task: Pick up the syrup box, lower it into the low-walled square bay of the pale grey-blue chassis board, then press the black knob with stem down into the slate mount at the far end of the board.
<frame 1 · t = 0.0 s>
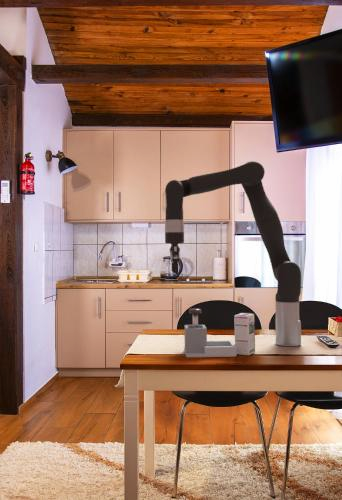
hand: (174, 272, 188), 29 cm above the table, fingers open, 8 cm apart
syrup box: (244, 353, 175), on the table
black knob with stem: (195, 320, 175), point 12 cm above the table, slide at 0.0 cm
chassis: (209, 353, 175), on the table
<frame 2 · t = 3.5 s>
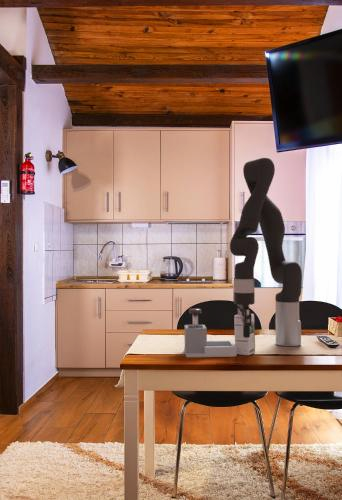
hand: (244, 335, 175), 7 cm above the table, fingers closed on syrup box, 7 cm apart
syrup box: (244, 353, 175), on the table, touching gripper
everything else where it was.
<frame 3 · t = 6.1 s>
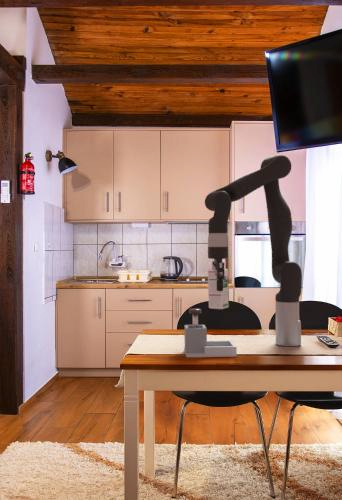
hand: (218, 289, 175), 23 cm above the table, fingers closed on syrup box, 7 cm apart
syrup box: (218, 308, 175), point 17 cm above the table, touching gripper
everything else where it was.
when the fingers open (9 cm above the table, at t = 8.6 s): syrup box drops 1 cm, resting on chassis.
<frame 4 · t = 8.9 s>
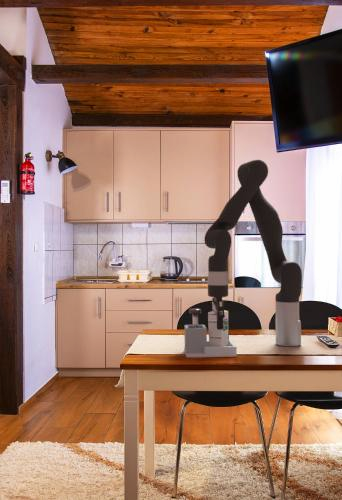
hand: (218, 327, 175), 10 cm above the table, fingers open, 8 cm apart
syrup box: (218, 350, 175), point 1 cm above the table, touching chassis
everything else where it was.
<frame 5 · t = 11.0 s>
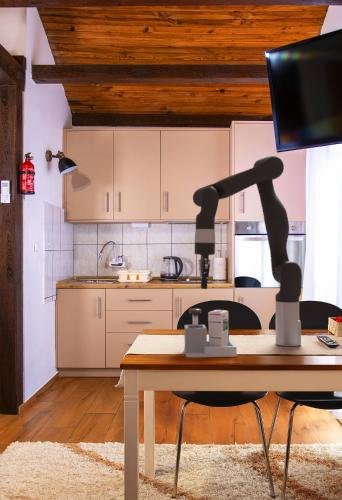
hand: (204, 288, 175), 24 cm above the table, fingers closed
nothing on the table moved.
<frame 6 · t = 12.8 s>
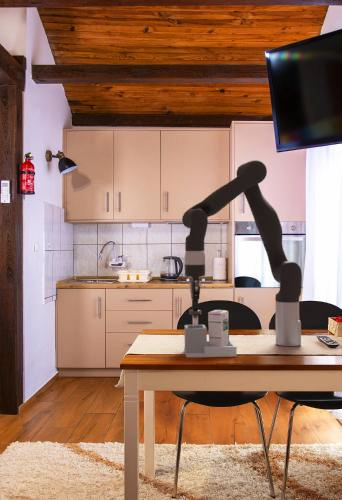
hand: (195, 310, 175), 16 cm above the table, fingers closed
black knob with stem: (195, 321, 175), point 12 cm above the table, slide at 0.4 cm, touching gripper
everything else where it was.
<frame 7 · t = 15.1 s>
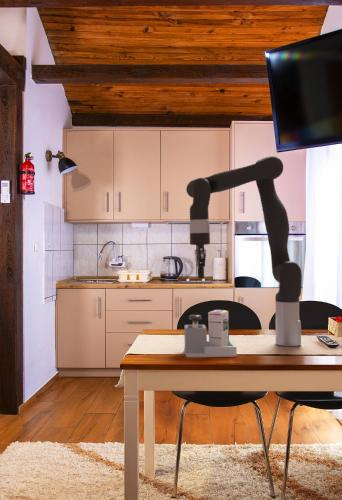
hand: (200, 278, 178), 28 cm above the table, fingers closed
black knob with stem: (195, 327, 175), point 10 cm above the table, slide at 2.3 cm
everything else where it was.
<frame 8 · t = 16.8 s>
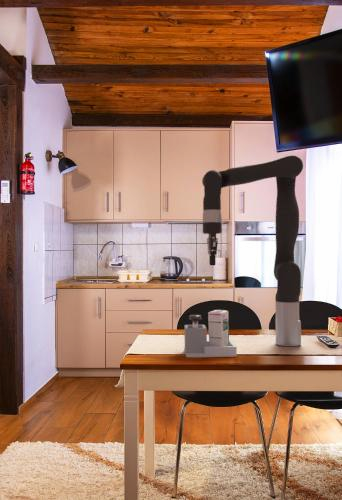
hand: (212, 265, 188), 32 cm above the table, fingers closed
nothing on the table moved.
at the end: syrup box 0.1 cm from the target spot on the chassis, point 1.0 cm above the chassis's base; syrup box tilted 0°; black knob with stem slide at 2.3 cm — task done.
